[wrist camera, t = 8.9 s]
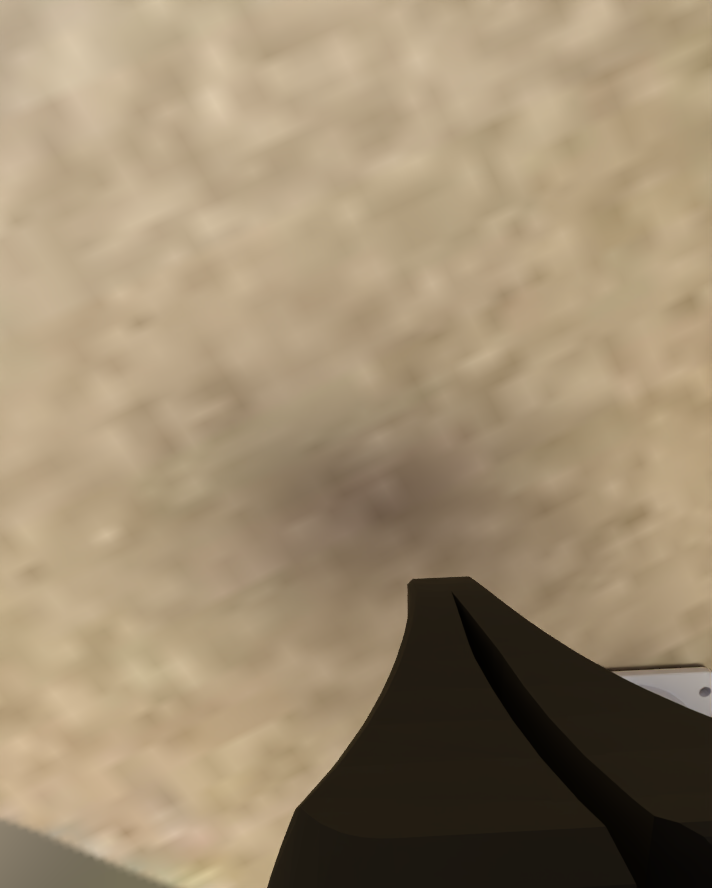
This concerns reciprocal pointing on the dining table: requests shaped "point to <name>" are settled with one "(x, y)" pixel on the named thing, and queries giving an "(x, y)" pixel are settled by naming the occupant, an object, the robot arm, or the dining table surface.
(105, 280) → the dining table surface
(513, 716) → the robot arm
